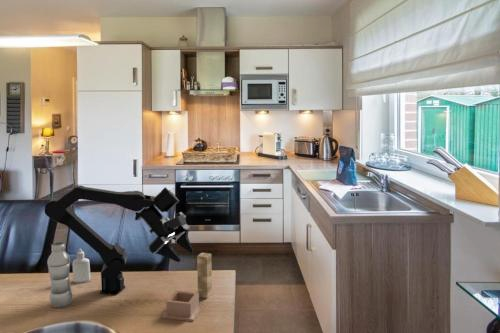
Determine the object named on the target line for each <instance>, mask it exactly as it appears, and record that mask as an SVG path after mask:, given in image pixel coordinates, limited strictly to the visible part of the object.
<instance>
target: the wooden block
mask: <svg viewBox="0 0 500 333" xmlns="http://www.w3.org/2000/svg"><path fill="white" fill-rule="evenodd" d="M212 259H213V258H212V253H208V252H201V253H199V254H198V255H197V256H196V260H197V262H196V263H197V266H196V267H197V270H196V271H197V272H196V273H197V293H199V298H204V299H209V298H210V297H211V296H212V294H213V279H212V277H213V276H212V275H213V274H212V273H213V272H212V269H213V268H212Z"/></svg>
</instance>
